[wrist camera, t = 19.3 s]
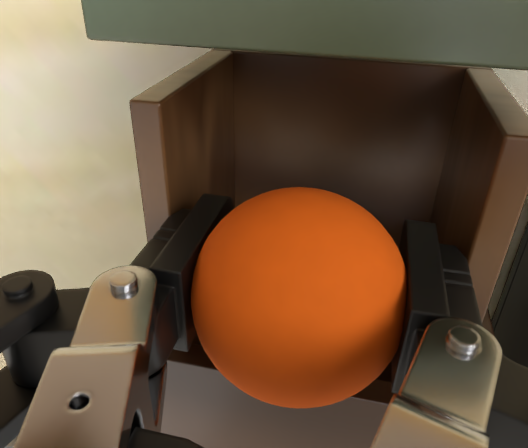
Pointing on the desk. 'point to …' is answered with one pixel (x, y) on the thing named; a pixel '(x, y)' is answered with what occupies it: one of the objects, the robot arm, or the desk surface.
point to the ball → (299, 297)
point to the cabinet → (263, 411)
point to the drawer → (338, 111)
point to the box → (514, 309)
